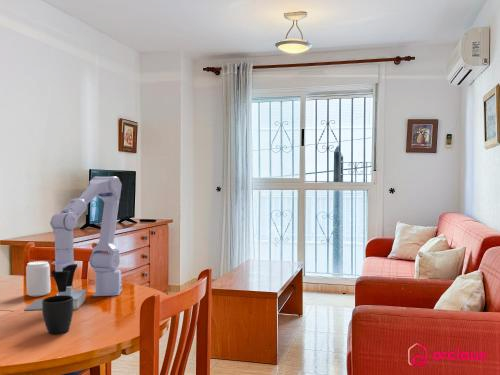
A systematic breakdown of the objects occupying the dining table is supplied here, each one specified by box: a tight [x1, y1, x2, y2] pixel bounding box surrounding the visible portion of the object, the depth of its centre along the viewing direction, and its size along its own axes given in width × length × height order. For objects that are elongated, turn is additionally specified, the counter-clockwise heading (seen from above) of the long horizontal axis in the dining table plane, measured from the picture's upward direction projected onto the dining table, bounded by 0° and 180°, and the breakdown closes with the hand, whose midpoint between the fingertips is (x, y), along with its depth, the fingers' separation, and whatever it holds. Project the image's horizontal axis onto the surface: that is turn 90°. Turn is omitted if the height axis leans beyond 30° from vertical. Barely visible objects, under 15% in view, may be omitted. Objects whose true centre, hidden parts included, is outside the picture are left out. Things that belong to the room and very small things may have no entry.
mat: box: [23, 298, 44, 312], centre depth 166 cm, size 8×13×1 cm, turn 6°
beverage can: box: [25, 260, 51, 298], centre depth 180 cm, size 8×8×12 cm
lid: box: [56, 285, 87, 301], centre depth 164 cm, size 9×13×4 cm
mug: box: [41, 294, 74, 336], centre depth 139 cm, size 8×12×10 cm
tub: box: [73, 292, 86, 311], centre depth 165 cm, size 8×12×3 cm, turn 6°
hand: (65, 288), depth 160 cm, fingers open, 7 cm apart
